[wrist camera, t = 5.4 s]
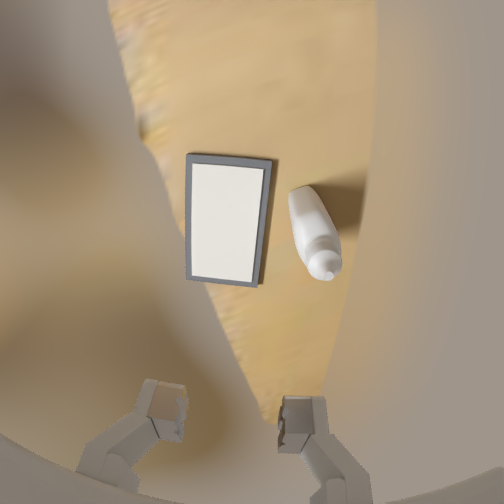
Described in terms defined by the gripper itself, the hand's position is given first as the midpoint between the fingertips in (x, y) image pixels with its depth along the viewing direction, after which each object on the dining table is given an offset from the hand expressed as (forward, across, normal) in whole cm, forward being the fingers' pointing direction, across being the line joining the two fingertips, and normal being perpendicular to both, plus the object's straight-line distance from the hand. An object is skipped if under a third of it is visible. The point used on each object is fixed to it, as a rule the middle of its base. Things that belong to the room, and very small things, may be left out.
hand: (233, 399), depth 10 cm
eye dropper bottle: (+22, -5, +1) cm, 23 cm away
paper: (+22, +3, +3) cm, 22 cm away
